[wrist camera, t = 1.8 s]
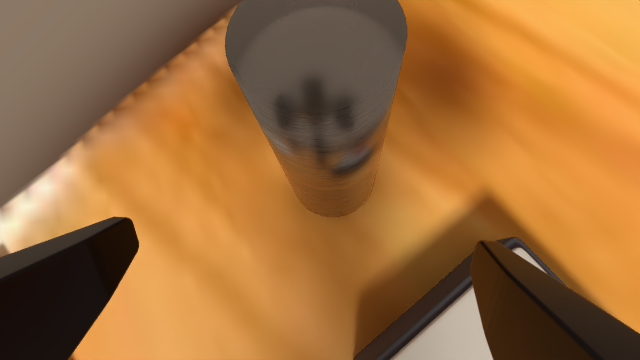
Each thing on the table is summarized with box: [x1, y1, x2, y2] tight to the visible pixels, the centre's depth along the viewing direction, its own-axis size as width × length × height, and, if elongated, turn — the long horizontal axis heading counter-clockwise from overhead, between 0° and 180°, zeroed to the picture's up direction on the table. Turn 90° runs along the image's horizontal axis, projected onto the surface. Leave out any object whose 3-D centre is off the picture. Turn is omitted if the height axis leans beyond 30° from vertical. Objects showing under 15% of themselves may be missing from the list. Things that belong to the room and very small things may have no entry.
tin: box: [225, 0, 407, 217], centre depth 16 cm, size 6×6×13 cm
